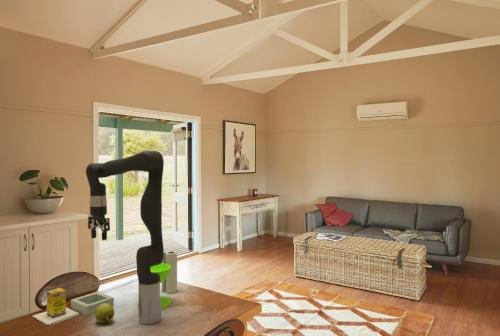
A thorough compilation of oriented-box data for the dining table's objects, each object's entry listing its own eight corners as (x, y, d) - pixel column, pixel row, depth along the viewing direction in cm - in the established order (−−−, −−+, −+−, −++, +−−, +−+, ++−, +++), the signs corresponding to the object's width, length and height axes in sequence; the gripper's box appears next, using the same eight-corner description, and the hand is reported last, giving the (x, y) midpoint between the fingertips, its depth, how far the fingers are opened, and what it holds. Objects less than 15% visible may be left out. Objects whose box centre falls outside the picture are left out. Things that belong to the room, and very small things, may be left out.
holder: (113, 305, 184) (113, 297, 184) (86, 315, 172) (86, 306, 172) (97, 299, 192) (97, 291, 192) (70, 308, 181) (70, 299, 181)
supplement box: (53, 318, 167) (53, 293, 166) (46, 315, 170) (46, 291, 170) (66, 313, 172) (66, 290, 171) (59, 310, 175) (59, 287, 175)
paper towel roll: (179, 290, 206) (178, 251, 205) (173, 294, 200) (173, 254, 199) (167, 289, 207) (167, 250, 207) (161, 292, 202) (161, 253, 201)
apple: (107, 316, 171) (107, 299, 171) (118, 322, 166) (118, 304, 165) (90, 322, 165) (90, 304, 165) (101, 328, 160) (101, 309, 159)
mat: (79, 315, 173) (79, 313, 172) (47, 326, 161) (47, 323, 161) (63, 308, 181) (63, 305, 181) (32, 317, 170) (32, 315, 170)
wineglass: (175, 298, 194) (174, 263, 193) (164, 310, 178) (164, 273, 177) (144, 297, 195) (144, 262, 195) (132, 309, 180) (132, 271, 179)
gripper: (114, 205, 178) (114, 239, 178) (96, 203, 186) (97, 236, 187) (100, 206, 172) (100, 242, 172) (82, 205, 180) (83, 238, 180)
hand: (99, 239), depth 179 cm, fingers open, 8 cm apart
